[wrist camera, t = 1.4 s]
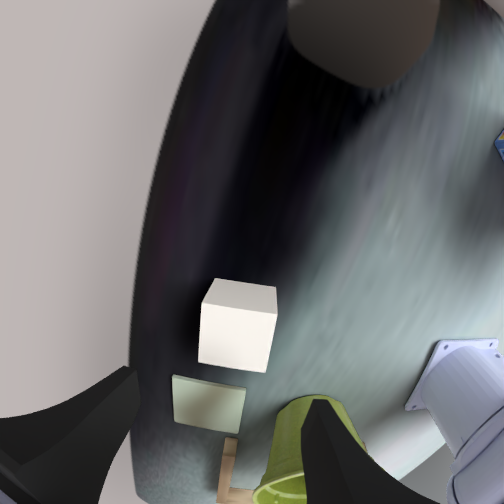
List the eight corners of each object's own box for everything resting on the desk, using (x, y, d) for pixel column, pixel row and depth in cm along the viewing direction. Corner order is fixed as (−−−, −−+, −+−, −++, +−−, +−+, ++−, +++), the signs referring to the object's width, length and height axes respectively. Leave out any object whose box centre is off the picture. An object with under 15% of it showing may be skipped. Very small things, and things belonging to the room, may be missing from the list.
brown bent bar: (393, 393, 20) (402, 411, 18) (324, 494, 25) (325, 507, 23) (173, 374, 20) (164, 392, 18) (181, 481, 26) (178, 495, 23)
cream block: (275, 286, 18) (277, 314, 14) (266, 338, 19) (265, 372, 15) (215, 277, 18) (201, 302, 14) (210, 329, 19) (198, 361, 15)
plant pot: (360, 433, 21) (378, 501, 13) (267, 450, 22) (265, 520, 14) (362, 368, 19) (396, 450, 11) (246, 389, 20) (236, 478, 12)
